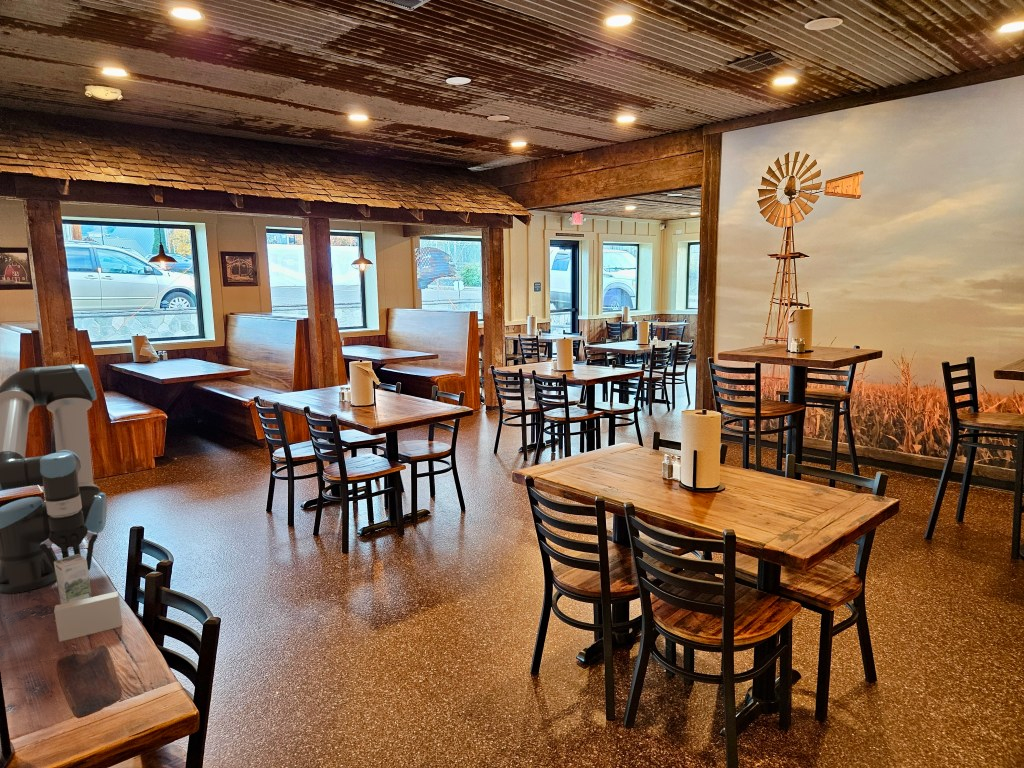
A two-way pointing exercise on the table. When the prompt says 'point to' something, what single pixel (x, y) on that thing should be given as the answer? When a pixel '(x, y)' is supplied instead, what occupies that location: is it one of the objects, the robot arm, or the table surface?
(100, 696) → the wooden tablet
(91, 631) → the board
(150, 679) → the table surface
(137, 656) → the table surface
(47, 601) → the table surface
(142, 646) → the table surface
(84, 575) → the syrup box
